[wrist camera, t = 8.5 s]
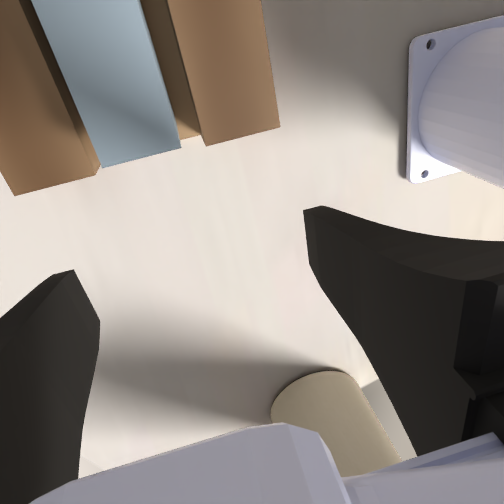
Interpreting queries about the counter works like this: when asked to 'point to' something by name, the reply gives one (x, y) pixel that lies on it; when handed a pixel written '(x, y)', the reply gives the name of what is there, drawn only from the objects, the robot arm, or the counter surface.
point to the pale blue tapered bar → (112, 76)
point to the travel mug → (337, 421)
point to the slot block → (173, 71)
